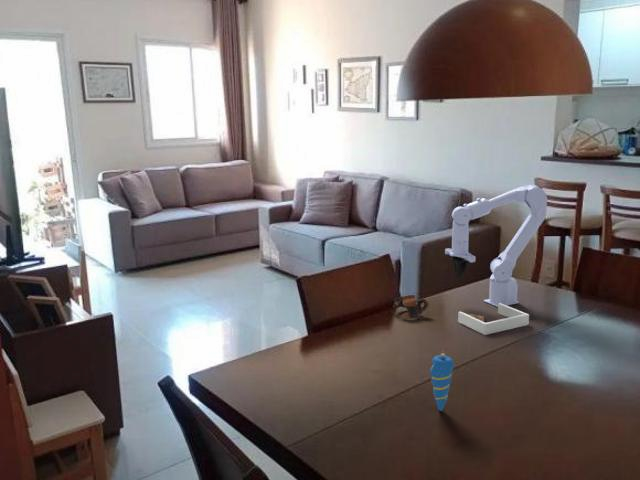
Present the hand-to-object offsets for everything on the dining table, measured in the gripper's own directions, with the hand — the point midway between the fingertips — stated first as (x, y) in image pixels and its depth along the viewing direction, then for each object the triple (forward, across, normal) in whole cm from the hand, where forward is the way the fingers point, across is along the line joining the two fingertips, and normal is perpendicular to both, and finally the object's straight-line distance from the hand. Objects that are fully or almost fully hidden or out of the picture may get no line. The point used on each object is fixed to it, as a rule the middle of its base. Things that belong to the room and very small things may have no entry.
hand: (459, 277), depth 206 cm
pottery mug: (+10, +3, -23) cm, 25 cm away
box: (+9, +22, -4) cm, 24 cm away
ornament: (+10, +60, -53) cm, 81 cm away
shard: (+10, +20, -8) cm, 23 cm away
